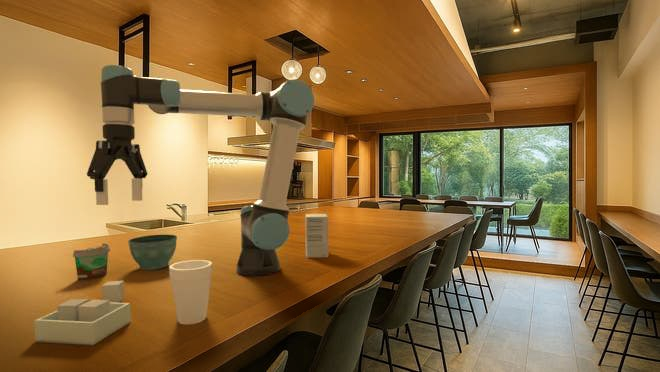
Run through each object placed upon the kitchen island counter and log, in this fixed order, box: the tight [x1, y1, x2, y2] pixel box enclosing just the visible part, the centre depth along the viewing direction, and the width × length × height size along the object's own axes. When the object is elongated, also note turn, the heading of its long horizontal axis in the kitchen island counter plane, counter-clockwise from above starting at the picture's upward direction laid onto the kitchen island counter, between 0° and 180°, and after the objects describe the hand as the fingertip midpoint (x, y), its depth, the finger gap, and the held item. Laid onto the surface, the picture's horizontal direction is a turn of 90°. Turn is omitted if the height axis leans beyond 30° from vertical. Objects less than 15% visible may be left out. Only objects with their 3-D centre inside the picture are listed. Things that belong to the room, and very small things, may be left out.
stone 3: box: [101, 280, 125, 303], centre depth 98 cm, size 4×4×5 cm
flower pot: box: [127, 234, 178, 271], centre depth 132 cm, size 16×16×11 cm
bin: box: [34, 302, 132, 346], centre depth 79 cm, size 13×11×4 cm
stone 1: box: [56, 298, 90, 321], centre depth 79 cm, size 4×4×6 cm
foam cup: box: [168, 259, 213, 325], centre depth 85 cm, size 10×9×13 cm
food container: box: [72, 243, 111, 281], centre depth 121 cm, size 12×6×10 cm, turn 168°
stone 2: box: [78, 299, 110, 322], centre depth 78 cm, size 4×4×6 cm
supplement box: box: [304, 213, 329, 259], centre depth 150 cm, size 10×9×17 cm
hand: (121, 202), depth 98 cm, fingers open, 13 cm apart
